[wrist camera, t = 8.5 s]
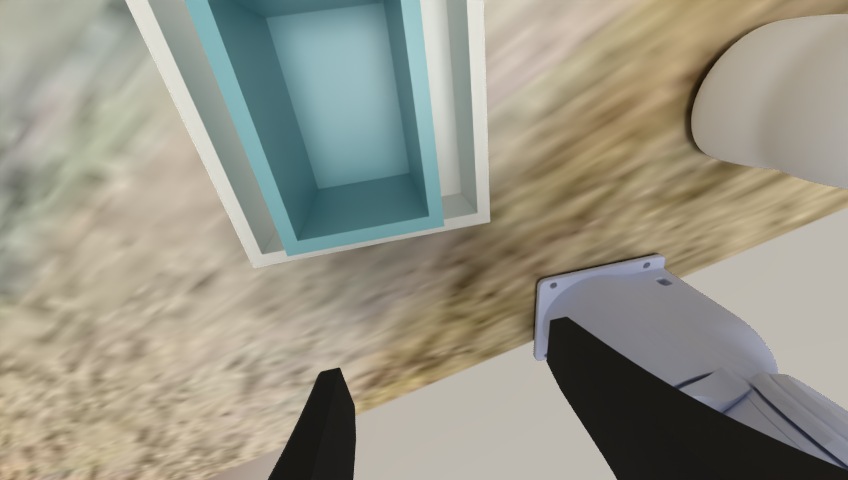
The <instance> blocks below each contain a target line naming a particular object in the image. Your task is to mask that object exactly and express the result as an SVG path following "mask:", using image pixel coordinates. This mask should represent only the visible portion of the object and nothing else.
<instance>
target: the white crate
mask: <svg viewBox="0 0 848 480" xmlns="http://www.w3.org/2000/svg"><path fill="white" fill-rule="evenodd" d="M126 2H127V4H128V7H129V9H130V11H131V13H132V15H133V17H134V19H135V21H136V23H137V25H138V27H139V30H140V32H141V34H142V36H143V38H144V40H145V42H146V44H147V46H148V48H149V51H150V53H151V55H152V57H153V59H154V61H155V63H156V65H157V67H158V69H159V71H160V74H161V76H162V78H163V80H164V82H165V84H166V86H167V88H168V90H169V92H170V94H171V97H172V99H173V101H174V103H175V105H176V107H177V109H178V111H179V113H180V115H181V117H182V120H183V122H184V124H185V126H186V128H187V130H188V132H189V134H190V136H191V138H192V140H193V143H194V145H195V147H196V149H197V151H198V153H199V155H200V157H201V159H202V161H203V164H204V166H205V168H206V170H207V172H208V174H209V176H210V178H211V180H212V182H213V184H214V187H215V189H216V191H217V193H218V195H219V197H220V199H221V201H222V203H223V205H224V207H225V210H226V212H227V214H228V216H229V218H230V220H231V222H232V224H233V226H234V228H235V230H236V233H237V235H238V237H239V239H240V241H241V243H242V245H243V247H244V249H245V251H246V254H247V256H248V258H249V260H250V262H251V264H252V266H253V268H258V267H263V266H268V265H273V264H278V263H283V262H288V261H294V260H299V259H304V258H309V257H314V256H319V255H324V254H329V253H335V252H340V251H345V250H350V249H355V248H360V247H365V246H370V245H376V244H381V243H386V242H391V241H396V240H401V239H406V238H411V237H417V236H422V235H427V234H432V233H437V232H442V231H447V230H452V229H458V228H463V227H468V226H473V225H478V224H483V223H488V222H490V197H489V165H488V132H487V99H486V67H485V34H484V1H483V0H420V6H421V15H422V24H423V33H424V42H425V52H426V61H427V70H428V79H429V88H430V98H431V107H432V116H433V125H434V135H435V144H436V153H437V162H438V171H439V181H440V190H441V199H442V208H443V218H444V226H443V227H438V228H433V229H428V230H423V231H417V232H412V233H407V234H402V235H397V236H391V237H386V238H381V239H376V240H371V241H365V242H360V243H355V244H350V245H344V246H339V247H334V248H329V249H324V250H318V251H313V252H308V253H303V254H298V255H292V256H287V254H286V251H285V249H284V247H283V244H282V242H281V239H280V237H279V234H278V232H277V229H276V227H275V224H274V222H273V219H272V217H271V214H270V212H269V209H268V207H267V204H266V202H265V199H264V197H263V194H262V192H261V189H260V187H259V184H258V182H257V179H256V177H255V174H254V172H253V170H252V167H251V165H250V162H249V160H248V157H247V155H246V152H245V150H244V147H243V145H242V142H241V140H240V137H239V135H238V132H237V130H236V127H235V125H234V122H233V120H232V117H231V115H230V112H229V110H228V107H227V105H226V102H225V100H224V97H223V95H222V93H221V90H220V88H219V85H218V83H217V80H216V78H215V75H214V73H213V70H212V68H211V65H210V63H209V60H208V58H207V55H206V53H205V50H204V48H203V45H202V43H201V40H200V38H199V35H198V33H197V30H196V28H195V25H194V23H193V21H192V18H191V16H190V13H189V11H188V8H187V6H186V3H185V1H184V0H126Z"/></svg>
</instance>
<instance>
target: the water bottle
mask: <svg viewBox="0 0 848 480" xmlns="http://www.w3.org/2000/svg"><path fill="white" fill-rule="evenodd" d="M691 128H692V134H693V137H694V140H695V142H696V144H697V146H698V147H699V149H700V150H701V151H703V152H704V153H705V154H706V155H708V156H710V157H712V158H715V159H718V160H722V161H726V162H730V163H735V164H740V165H745V166H750V167H757V168H765V169H775V170H779V171H781V172H784V173H786V174H789V175H791V176H794V177H797V178H800V179H803V180H807V181H811V182H815V183H819V184H823V185H828V186H833V187H838V188H845V189H848V14H832V15H819V16H808V17H799V18H792V19H785V20H780V21H776V22H772V23H769V24H766V25H764V26H761V27H759V28H757V29H755V30H753V31H752V32H750V33H748V34H747V35H745V36H744V37H742V38H741V39H740V40H738V41H737V42H736V43H735V44H734V45H732V46H731V47H730V48H729V49H728V50H727V51H726V52H725V53H724V54H723V55H722V56H721V57H720V58H719V60H718V61H717V62H716V63H715V64H714V66H713V67H712V68H711V70H710V71H709V73H708V74H707V76H706V78H705V79H704V81H703V83H702V85H701V87H700V89H699V91H698V93H697V96H696V99H695V102H694V105H693V110H692V117H691Z"/></svg>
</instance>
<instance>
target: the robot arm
mask: <svg viewBox="0 0 848 480" xmlns="http://www.w3.org/2000/svg"><path fill="white" fill-rule="evenodd" d="M664 264H665V257H663V256H662V255H660V254H656V255H652V256H647V257H642V258H638V259H633V260H628V261H624V262H619V263H614V264H610V265H605V266H600V267H596V268H591V269H586V270H581V271H577V272H572V273H567V274H563V275H558V276H553V277H549V278H544V279H542V280H540V281H539V283H538V285H537V302H536V320H535V337H534V357H535V359H536V360H545V359H547V360H546V361H547V363H548V365H549V367H550V369H551V371H552V374H553V376H554V378H555V379H556V381H557V383H558V385H559V387H560V389H561V391H562V393H563V394H564V396H565V397H566V399H567V400H568V402H569V404H570V405H571V407H572V408H573V410H574V412H575V413H576V414H577V416H578V418H579V419H580V421H581V422H582V424H583V425H584V427H585V429H586V430H587V431H588V433H589V435H590V436H591V438H592V439H593V441H594V442H595V444H596V446H597V447H598V449H599V450H600V452H601V453H602V455H603V456H604V458H605V460H606V461H607V463H608V465H609V466H610V468H611V470H612V471H613V473H614V475H615V476H616V478H617V480H848V411H846V410H845V409H843V408H842V407H840V406H839V405H837V404H836V403H834V402H833V401H831V400H830V399H828V398H826V397H825V396H823V395H822V394H820V393H819V392H817V391H815V390H814V389H812V388H811V387H809V386H807V385H805V384H804V383H802V382H800V381H798V380H797V379H795V378H793V377H791V376H789V375H785V374H778V369H777V364H776V362H775V359H774V357H773V355H772V353H771V351H770V349H769V348H768V346H767V345H766V344H765V342H764V341H763V340H762V338H761V337H760V336H759V335H758V334H757V333H756V332H755V331H754V329H752V328H751V327H750V326H749V325H748V324H747V323H746V322H744V321H743V320H741V319H740V318H739V317H737V316H736V315H734V314H733V313H731V312H730V311H728V310H727V309H725V308H724V307H722V306H721V305H719V304H717V303H716V302H714V301H713V300H711V299H710V298H708V297H707V296H705V295H704V294H702V293H700V292H699V291H697V290H696V289H694V288H693V287H691V286H690V285H688V284H687V283H685V282H684V281H682V280H681V279H679V278H678V277H676V276H675V275H673V274H672V273H670V272H668V271H667V270H665V269H664ZM552 283H553V284H552ZM551 284H552V285H551ZM355 445H356V427H355V406H354V403H353V400H352V398H351V395H350V393H349V390H348V388H347V385H346V382H345V380H344V377H343V375H342V372H341V369H340V368H335V369H331V370H326V371H322V372H320V374H319V375H318V377H317V379H316V382H315V384H314V387H313V389H312V391H311V394H310V396H309V398H308V400H307V403H306V405H305V407H304V409H303V411H302V414H301V416H300V418H299V420H298V422H297V424H296V426H295V428H294V430H293V432H292V434H291V436H290V438H289V440H288V442H287V445H286V446H285V449H284V450H283V452H282V454H281V457H280V458H279V460H278V462H277V463H276V465H275V467H274V469H273V471H272V473H271V475H270V476H269V478H268V480H353V475H354V461H355Z"/></svg>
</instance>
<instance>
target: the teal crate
mask: <svg viewBox="0 0 848 480" xmlns="http://www.w3.org/2000/svg"><path fill="white" fill-rule="evenodd" d="M184 1H185V3H186V6H187V8H188V11H189V13H190V16H191V18H192V21H193V23H194V25H195V28H196V30H197V33H198V35H199V38H200V40H201V43H202V45H203V48H204V50H205V53H206V55H207V58H208V60H209V63H210V65H211V68H212V70H213V73H214V75H215V78H216V80H217V83H218V85H219V88H220V90H221V93H222V95H223V97H224V100H225V102H226V105H227V107H228V110H229V112H230V115H231V117H232V120H233V122H234V125H235V127H236V130H237V132H238V135H239V137H240V140H241V142H242V145H243V147H244V150H245V152H246V155H247V157H248V160H249V162H250V165H251V167H252V170H253V172H254V174H255V177H256V179H257V182H258V184H259V187H260V189H261V192H262V194H263V197H264V199H265V202H266V204H267V207H268V209H269V212H270V214H271V217H272V219H273V222H274V224H275V227H276V229H277V232H278V234H279V237H280V239H281V242H282V244H283V247H284V249H285V251H286V254H287V256H292V255H298V254H303V253H308V252H313V251H318V250H324V249H329V248H334V247H339V246H344V245H350V244H355V243H360V242H365V241H371V240H376V239H381V238H386V237H391V236H397V235H402V234H407V233H412V232H417V231H423V230H428V229H433V228H438V227H443V226H444V218H443V208H442V199H441V190H440V181H439V171H438V162H437V153H436V144H435V135H434V125H433V116H432V107H431V98H430V88H429V79H428V70H427V61H426V52H425V42H424V33H423V24H422V15H421V6H420V0H184Z"/></svg>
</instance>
